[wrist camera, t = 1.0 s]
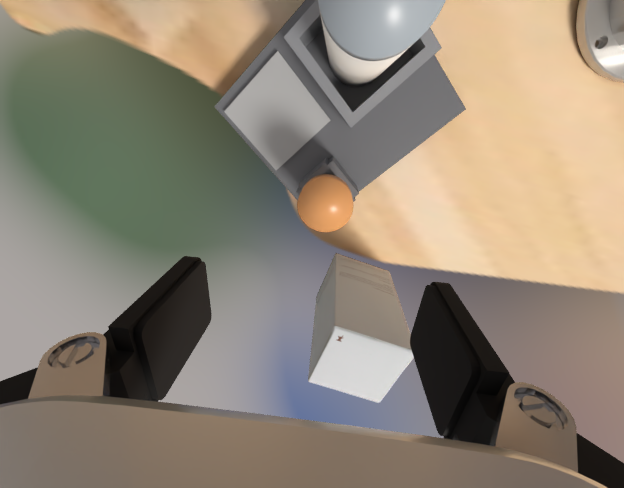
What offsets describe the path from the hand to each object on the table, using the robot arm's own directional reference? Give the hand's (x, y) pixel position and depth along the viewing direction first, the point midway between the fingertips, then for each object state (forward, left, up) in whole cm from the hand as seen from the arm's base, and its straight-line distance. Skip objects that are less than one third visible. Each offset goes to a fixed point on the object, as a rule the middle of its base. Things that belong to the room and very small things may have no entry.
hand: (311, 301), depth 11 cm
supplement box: (+6, +12, -21) cm, 25 cm away
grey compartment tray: (-5, -5, -20) cm, 22 cm away
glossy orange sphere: (0, 0, -16) cm, 16 cm away
